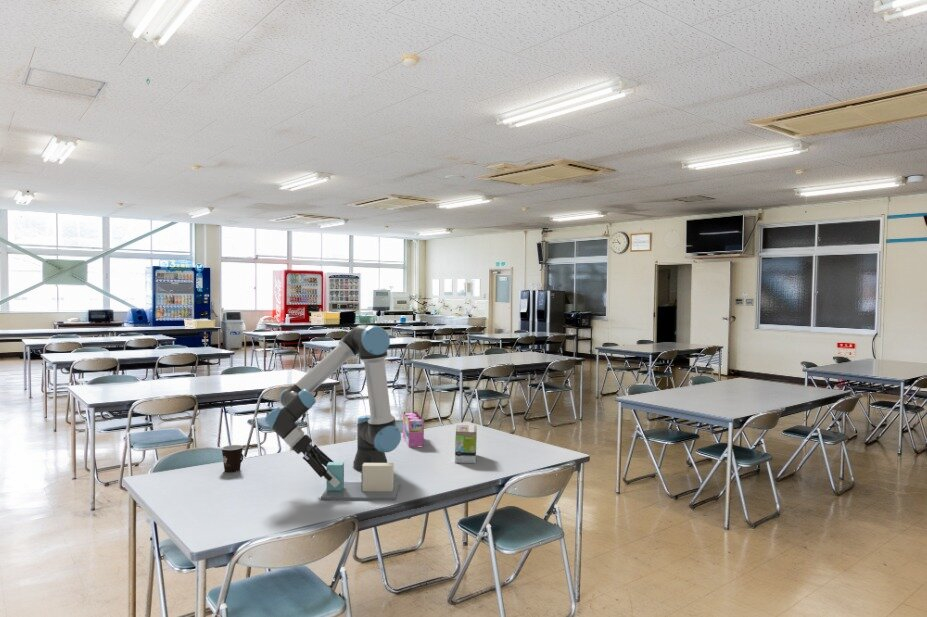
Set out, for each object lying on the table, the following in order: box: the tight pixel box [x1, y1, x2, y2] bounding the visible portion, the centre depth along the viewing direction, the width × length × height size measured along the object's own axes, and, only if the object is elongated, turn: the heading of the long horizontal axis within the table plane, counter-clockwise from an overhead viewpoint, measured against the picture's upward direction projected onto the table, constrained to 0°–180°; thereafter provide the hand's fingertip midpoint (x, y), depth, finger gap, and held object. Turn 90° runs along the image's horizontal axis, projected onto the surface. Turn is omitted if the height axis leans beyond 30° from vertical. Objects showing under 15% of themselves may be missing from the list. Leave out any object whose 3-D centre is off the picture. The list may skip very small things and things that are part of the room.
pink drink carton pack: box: [402, 411, 425, 448], centre depth 312 cm, size 24×8×14 cm, turn 14°
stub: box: [326, 461, 345, 491], centre depth 232 cm, size 6×4×10 cm, turn 91°
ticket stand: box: [320, 462, 400, 501], centre depth 232 cm, size 28×18×11 cm, turn 91°
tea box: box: [454, 424, 478, 464], centre depth 280 cm, size 15×10×15 cm, turn 179°
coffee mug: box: [221, 444, 244, 473], centre depth 257 cm, size 12×9×10 cm
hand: (339, 481), depth 232 cm, fingers open, 8 cm apart
